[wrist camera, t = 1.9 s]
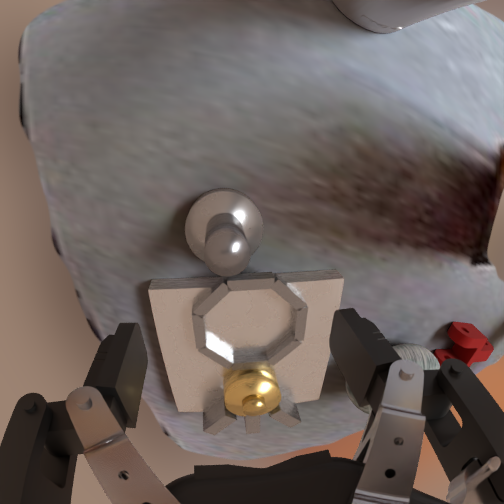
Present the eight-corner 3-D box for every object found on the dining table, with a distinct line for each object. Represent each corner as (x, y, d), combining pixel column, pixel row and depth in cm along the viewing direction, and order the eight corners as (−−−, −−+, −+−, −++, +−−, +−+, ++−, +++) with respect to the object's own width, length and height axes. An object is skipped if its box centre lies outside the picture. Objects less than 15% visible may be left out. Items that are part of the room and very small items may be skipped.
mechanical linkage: (424, 356, 37) (440, 376, 32) (447, 320, 35) (466, 338, 30) (469, 355, 41) (483, 370, 36) (488, 325, 38) (503, 339, 34)
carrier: (150, 267, 25) (135, 303, 20) (337, 258, 28) (366, 288, 22) (181, 406, 33) (179, 444, 28) (312, 395, 35) (325, 429, 30)
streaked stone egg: (332, 414, 33) (383, 441, 24) (333, 350, 34) (392, 367, 25) (396, 385, 38) (444, 399, 29) (399, 330, 39) (452, 336, 30)
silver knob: (184, 189, 23) (173, 209, 17) (260, 186, 24) (277, 205, 18) (189, 259, 26) (183, 300, 19) (259, 256, 26) (274, 295, 20)
